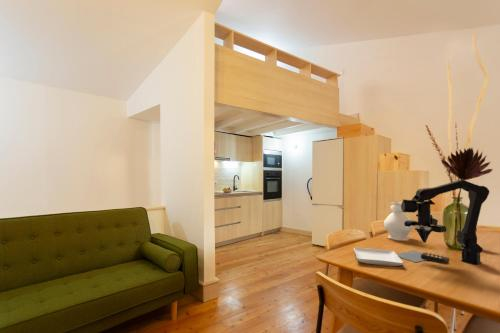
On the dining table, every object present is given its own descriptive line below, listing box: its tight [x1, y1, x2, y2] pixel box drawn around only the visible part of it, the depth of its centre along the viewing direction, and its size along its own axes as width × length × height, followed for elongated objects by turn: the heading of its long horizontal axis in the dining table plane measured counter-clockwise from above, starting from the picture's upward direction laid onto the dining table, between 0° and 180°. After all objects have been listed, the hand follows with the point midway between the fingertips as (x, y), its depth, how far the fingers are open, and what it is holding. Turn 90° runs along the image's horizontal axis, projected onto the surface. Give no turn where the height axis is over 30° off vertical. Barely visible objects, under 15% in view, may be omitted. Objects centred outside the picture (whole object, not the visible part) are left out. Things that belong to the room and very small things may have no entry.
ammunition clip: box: [421, 251, 448, 264], centre depth 142 cm, size 11×2×12 cm
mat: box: [396, 250, 428, 263], centre depth 145 cm, size 13×18×1 cm
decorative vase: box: [383, 201, 414, 242], centre depth 185 cm, size 18×18×25 cm
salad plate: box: [353, 247, 404, 267], centre depth 140 cm, size 21×21×3 cm
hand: (424, 242), depth 140 cm, fingers closed
